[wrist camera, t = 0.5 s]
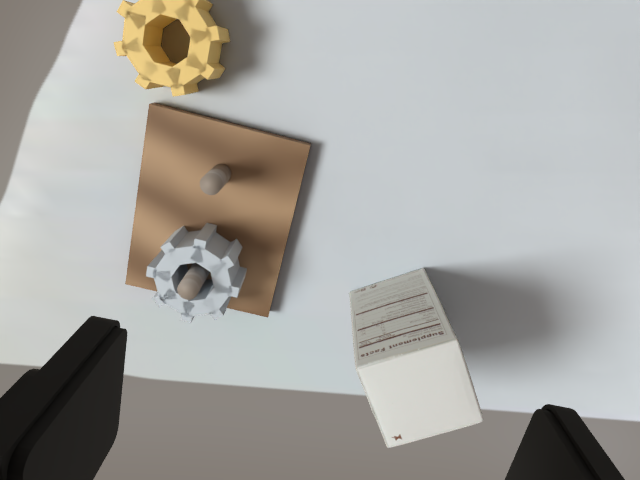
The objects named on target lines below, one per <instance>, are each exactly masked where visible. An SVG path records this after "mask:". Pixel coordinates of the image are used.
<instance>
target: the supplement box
mask: <svg viewBox="0 0 640 480" xmlns="http://www.w3.org/2000/svg"><path fill="white" fill-rule="evenodd" d="M349 297H350V307H351V319H352V332H353V346H354V358H355V366H356V371H357V374H358V376H359V379H360V381H361V384H362V386H363V389H364V391H365V393H366V396H367V398H368V401H369V403H370V406H371V409H372V412H373V414H374V416H375V418H376V420H377V423H378V425H379V428H380V430H381V433H382V435H383V438H384V440H385V443H386V446H387V447H388V448H390V447H394V446H398V445H402V444H406V443H410V442H413V441H417V440H420V439H424V438H428V437H431V436H434V435H438V434H442V433H445V432H449V431H452V430H456V429H459V428H463V427H466V426H470V425H474V424H477V423H480V422H482V421H483V417H482V413H481V409H480V406H479V403H478V399H477V396H476V393H475V390H474V386H473V383H472V380H471V377H470V374H469V371H468V368H467V365H466V362H465V359H464V356H463V353H462V350H461V347H460V345H459V342H458V339H457V337H456V335H455V333H454V331H453V329H452V327H451V324H450V322H449V320H448V318H447V316H446V314H445V311H444V309H443V307H442V304H441V302H440V300H439V298H438V296H437V294H436V292H435V290H434V288H433V285H432V283H431V281H430V279H429V277H428V275H427V273H426V271H425V269H424V268H422V269H419V270H415V271H412V272H409V273H406V274H403V275H400V276H397V277H394V278H390V279H387V280H384V281H381V282H378V283H375V284H372V285H369V286H366V287H363V288H360V289H356V290H354V291H351V292H350V293H349Z"/></svg>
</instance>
